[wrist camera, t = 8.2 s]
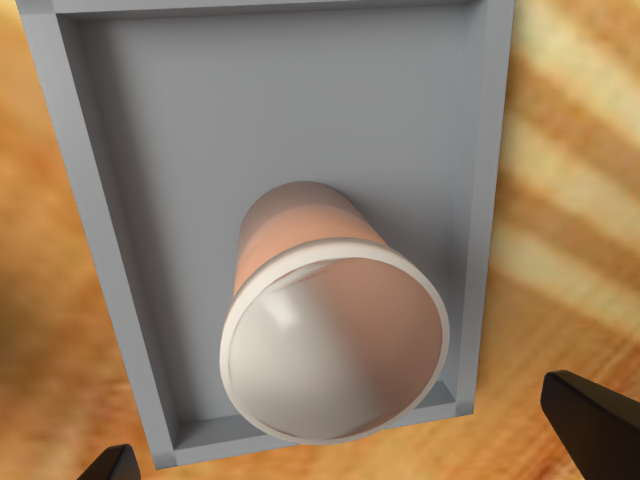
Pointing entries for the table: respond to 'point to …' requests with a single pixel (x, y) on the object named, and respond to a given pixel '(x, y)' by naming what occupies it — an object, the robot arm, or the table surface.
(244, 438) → the tray
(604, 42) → the table surface
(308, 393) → the cup
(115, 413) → the table surface
